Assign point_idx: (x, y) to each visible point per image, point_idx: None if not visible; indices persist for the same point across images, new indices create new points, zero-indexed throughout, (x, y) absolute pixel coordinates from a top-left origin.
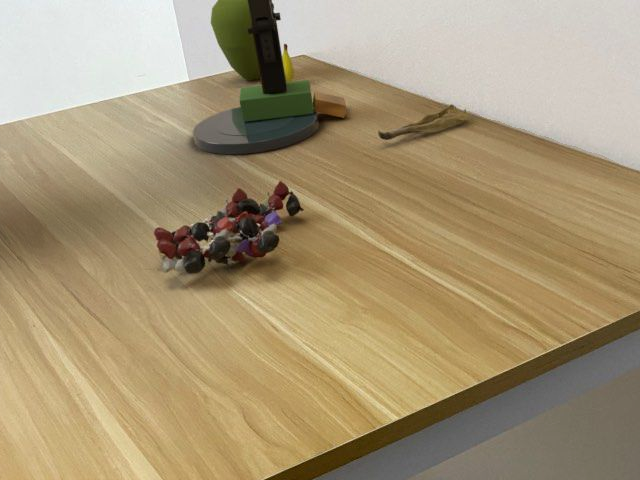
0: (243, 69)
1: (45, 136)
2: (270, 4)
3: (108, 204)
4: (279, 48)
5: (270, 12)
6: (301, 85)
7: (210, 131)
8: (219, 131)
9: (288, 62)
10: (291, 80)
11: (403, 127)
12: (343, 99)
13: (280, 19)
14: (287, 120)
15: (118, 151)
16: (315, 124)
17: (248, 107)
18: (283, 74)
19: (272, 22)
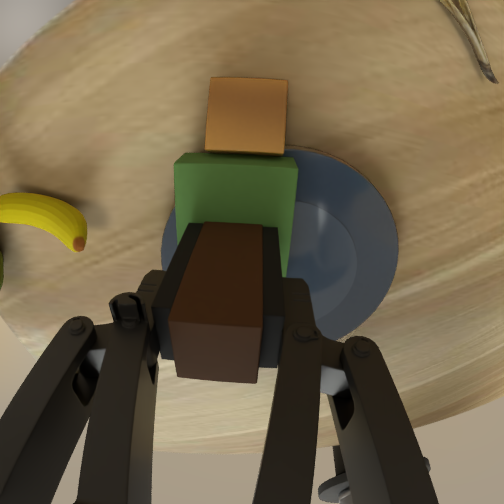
0: (3, 275)
1: (176, 439)
2: (304, 386)
3: (422, 390)
4: (279, 281)
5: (390, 375)
6: (223, 185)
7: None
8: None
9: (1, 206)
10: (32, 195)
11: (470, 27)
12: (230, 80)
13: (141, 296)
14: (309, 215)
15: (263, 404)
16: (337, 159)
17: None
18: (278, 245)
19: (378, 350)
